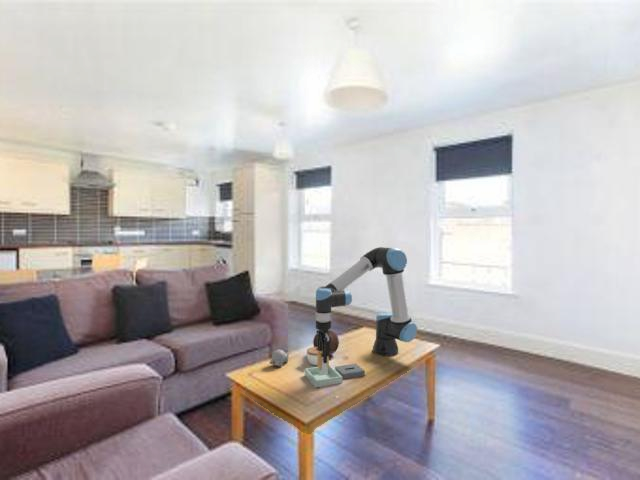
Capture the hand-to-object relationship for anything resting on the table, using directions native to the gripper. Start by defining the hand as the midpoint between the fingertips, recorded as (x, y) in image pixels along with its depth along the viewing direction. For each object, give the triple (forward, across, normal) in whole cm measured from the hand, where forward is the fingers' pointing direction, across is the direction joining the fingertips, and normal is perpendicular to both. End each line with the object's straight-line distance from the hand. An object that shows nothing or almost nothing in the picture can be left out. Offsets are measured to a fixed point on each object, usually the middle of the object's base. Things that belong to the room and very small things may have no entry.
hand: (323, 367), depth 178 cm
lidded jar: (+6, -20, +4) cm, 21 cm away
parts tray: (+6, 0, 0) cm, 6 cm away
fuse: (+4, 0, 0) cm, 4 cm away
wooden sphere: (+6, -31, +14) cm, 35 cm away
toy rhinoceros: (+6, -26, -15) cm, 30 cm away
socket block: (+6, -1, +15) cm, 16 cm away
